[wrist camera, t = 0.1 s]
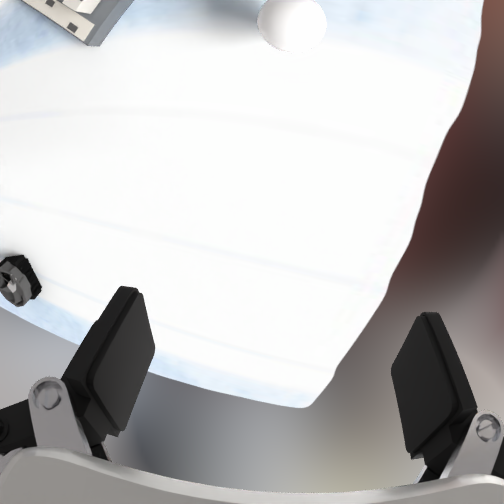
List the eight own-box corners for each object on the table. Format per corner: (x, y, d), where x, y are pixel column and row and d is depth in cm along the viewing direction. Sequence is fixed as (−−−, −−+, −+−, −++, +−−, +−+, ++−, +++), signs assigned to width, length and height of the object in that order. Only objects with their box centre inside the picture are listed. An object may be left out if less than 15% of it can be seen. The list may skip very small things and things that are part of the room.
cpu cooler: (8, 307, 53) (-13, 269, 48) (21, 291, 58) (2, 255, 52) (33, 308, 51) (10, 267, 46) (47, 291, 56) (27, 251, 51)
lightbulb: (256, 49, 31) (245, 37, 21) (271, 4, 27) (266, -24, 18) (308, 65, 31) (318, 59, 22) (324, 20, 28) (339, -2, 18)
